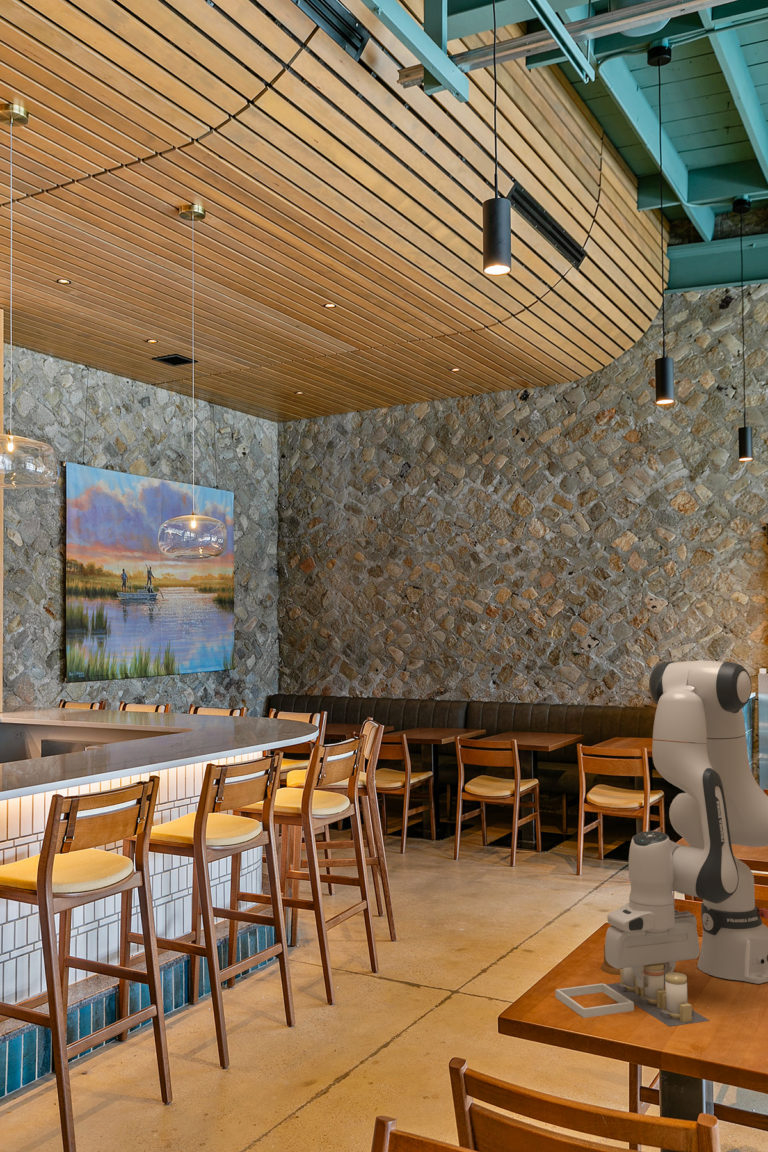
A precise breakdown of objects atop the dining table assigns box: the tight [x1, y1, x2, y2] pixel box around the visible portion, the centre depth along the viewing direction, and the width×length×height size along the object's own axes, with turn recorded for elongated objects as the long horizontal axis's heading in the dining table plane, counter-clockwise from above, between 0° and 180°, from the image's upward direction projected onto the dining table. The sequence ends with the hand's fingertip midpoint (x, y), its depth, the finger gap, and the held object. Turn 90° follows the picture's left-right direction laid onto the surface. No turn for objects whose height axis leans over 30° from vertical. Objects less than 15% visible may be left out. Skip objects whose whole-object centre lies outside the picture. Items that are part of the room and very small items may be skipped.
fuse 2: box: [664, 971, 689, 1020], centre depth 181 cm, size 4×4×8 cm
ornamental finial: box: [600, 944, 623, 976], centre depth 207 cm, size 8×8×8 cm
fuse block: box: [605, 969, 711, 1028], centre depth 188 cm, size 9×23×4 cm, turn 18°
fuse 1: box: [623, 967, 643, 992], centre depth 195 cm, size 4×4×8 cm
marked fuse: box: [643, 963, 665, 1005], centre depth 188 cm, size 4×4×8 cm
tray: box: [554, 982, 635, 1019], centre depth 187 cm, size 11×11×3 cm
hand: (653, 985), depth 188 cm, fingers closed on marked fuse, 4 cm apart
